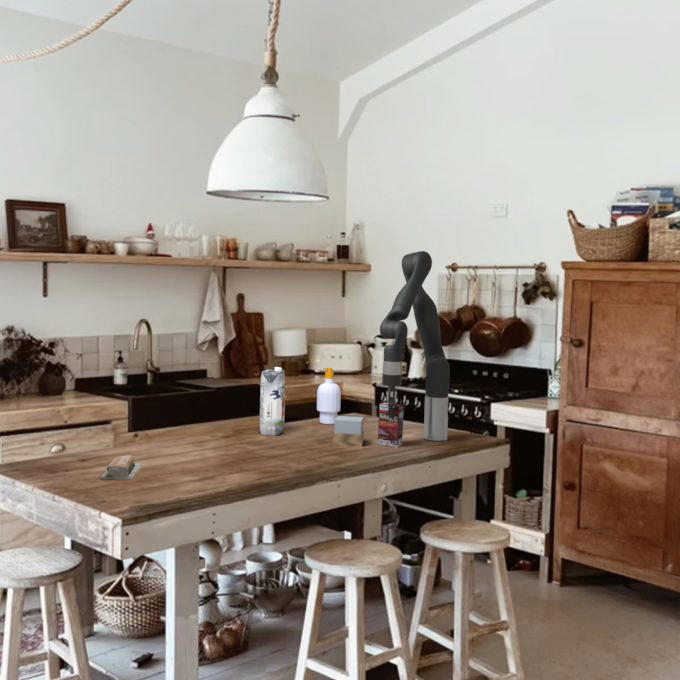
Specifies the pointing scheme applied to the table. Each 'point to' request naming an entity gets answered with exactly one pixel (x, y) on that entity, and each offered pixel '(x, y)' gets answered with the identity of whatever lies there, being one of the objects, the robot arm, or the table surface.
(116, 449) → the table surface
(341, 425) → the pale gray block
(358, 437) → the walnut block
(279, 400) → the juice carton
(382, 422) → the supplement box
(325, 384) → the soap bottle
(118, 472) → the packaged product
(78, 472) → the table surface
